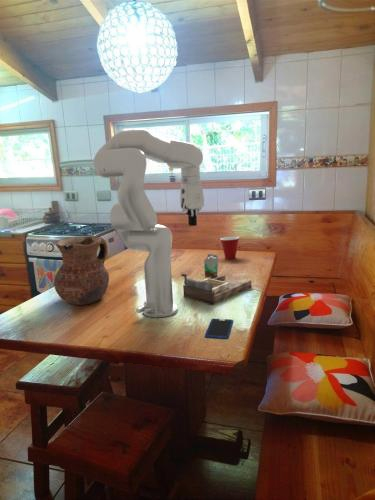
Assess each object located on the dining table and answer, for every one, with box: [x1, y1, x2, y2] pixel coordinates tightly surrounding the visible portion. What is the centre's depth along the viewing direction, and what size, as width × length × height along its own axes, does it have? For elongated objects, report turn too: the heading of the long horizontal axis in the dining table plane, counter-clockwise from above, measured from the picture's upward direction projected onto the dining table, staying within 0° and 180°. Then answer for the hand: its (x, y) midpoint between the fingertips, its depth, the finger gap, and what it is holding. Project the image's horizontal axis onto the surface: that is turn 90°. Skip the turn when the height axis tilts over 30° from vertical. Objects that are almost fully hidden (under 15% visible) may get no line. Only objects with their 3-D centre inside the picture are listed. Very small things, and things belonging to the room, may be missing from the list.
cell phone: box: [204, 318, 234, 340], centre depth 114 cm, size 7×14×1 cm, turn 167°
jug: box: [53, 235, 110, 306], centre depth 144 cm, size 22×21×25 cm
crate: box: [201, 278, 229, 295], centre depth 143 cm, size 11×11×4 cm
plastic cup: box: [219, 236, 240, 260], centre depth 203 cm, size 11×11×12 cm
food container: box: [203, 253, 220, 279], centre depth 168 cm, size 12×6×10 cm, turn 168°
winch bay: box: [181, 273, 252, 306], centre depth 147 cm, size 27×16×10 cm, turn 137°
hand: (192, 225), depth 150 cm, fingers closed
